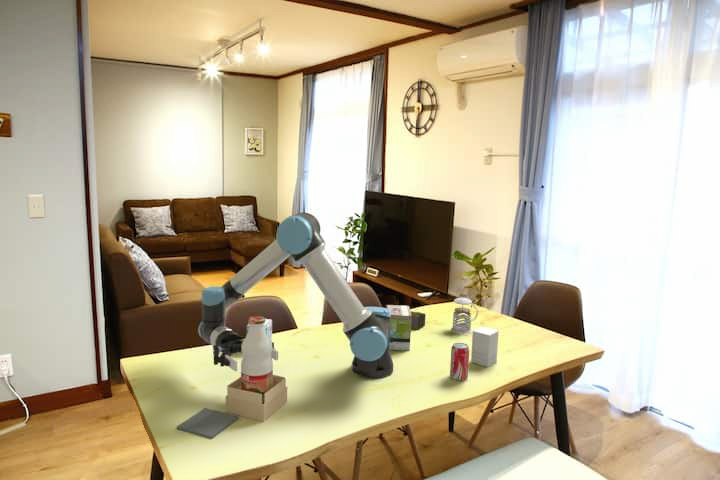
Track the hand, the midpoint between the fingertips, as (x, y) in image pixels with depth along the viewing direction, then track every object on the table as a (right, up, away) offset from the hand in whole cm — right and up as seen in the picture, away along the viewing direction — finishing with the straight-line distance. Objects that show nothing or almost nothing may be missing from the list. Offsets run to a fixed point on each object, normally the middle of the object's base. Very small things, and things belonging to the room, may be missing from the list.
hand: (257, 361), depth 150 cm
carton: (-1, -15, +3) cm, 15 cm away
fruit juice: (-1, -15, +3) cm, 15 cm away
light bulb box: (-9, -7, +50) cm, 52 cm away
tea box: (+46, -7, +59) cm, 75 cm away
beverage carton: (+51, -4, +85) cm, 99 cm away
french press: (+77, -5, +78) cm, 110 cm away
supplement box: (+78, -11, +42) cm, 89 cm away
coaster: (-12, -16, -7) cm, 21 cm away
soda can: (+65, -13, +28) cm, 72 cm away
